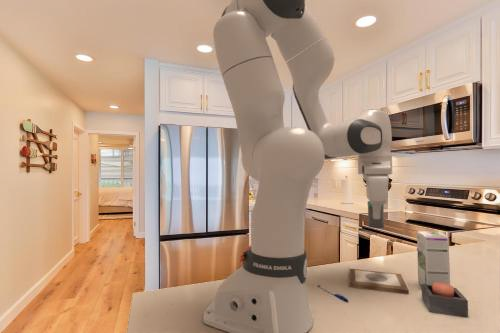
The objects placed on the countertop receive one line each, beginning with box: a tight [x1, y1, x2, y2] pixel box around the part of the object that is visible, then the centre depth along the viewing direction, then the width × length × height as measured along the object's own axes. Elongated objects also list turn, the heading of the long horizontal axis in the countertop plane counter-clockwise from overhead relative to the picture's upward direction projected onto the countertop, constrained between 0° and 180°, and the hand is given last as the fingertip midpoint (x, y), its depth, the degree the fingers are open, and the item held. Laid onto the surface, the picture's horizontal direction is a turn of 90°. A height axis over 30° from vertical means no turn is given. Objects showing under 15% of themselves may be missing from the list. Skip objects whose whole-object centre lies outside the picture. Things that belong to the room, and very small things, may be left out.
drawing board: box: [349, 268, 410, 295], centre depth 78 cm, size 14×12×1 cm
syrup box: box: [416, 230, 451, 287], centre depth 73 cm, size 6×6×14 cm
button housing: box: [421, 284, 469, 318], centre depth 63 cm, size 7×7×4 cm
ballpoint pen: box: [317, 284, 349, 303], centre depth 70 cm, size 10×1×1 cm, turn 28°
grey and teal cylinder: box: [367, 200, 385, 229], centre depth 78 cm, size 4×4×7 cm
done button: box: [432, 282, 455, 297], centre depth 63 cm, size 4×4×2 cm
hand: (375, 217), depth 78 cm, fingers closed on grey and teal cylinder, 4 cm apart
